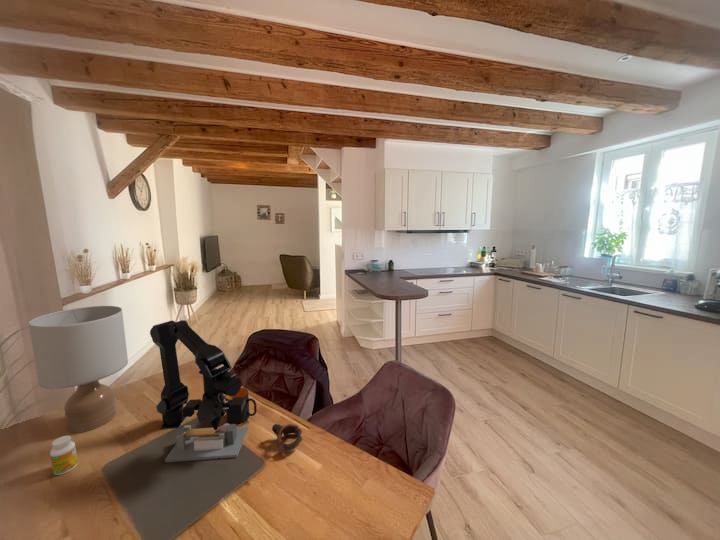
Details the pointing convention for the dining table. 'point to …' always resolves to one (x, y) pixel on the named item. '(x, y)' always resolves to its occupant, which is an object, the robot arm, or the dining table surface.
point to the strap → (204, 431)
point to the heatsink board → (208, 445)
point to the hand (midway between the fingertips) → (216, 429)
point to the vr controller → (287, 430)
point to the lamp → (81, 360)
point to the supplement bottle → (63, 455)
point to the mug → (245, 413)
